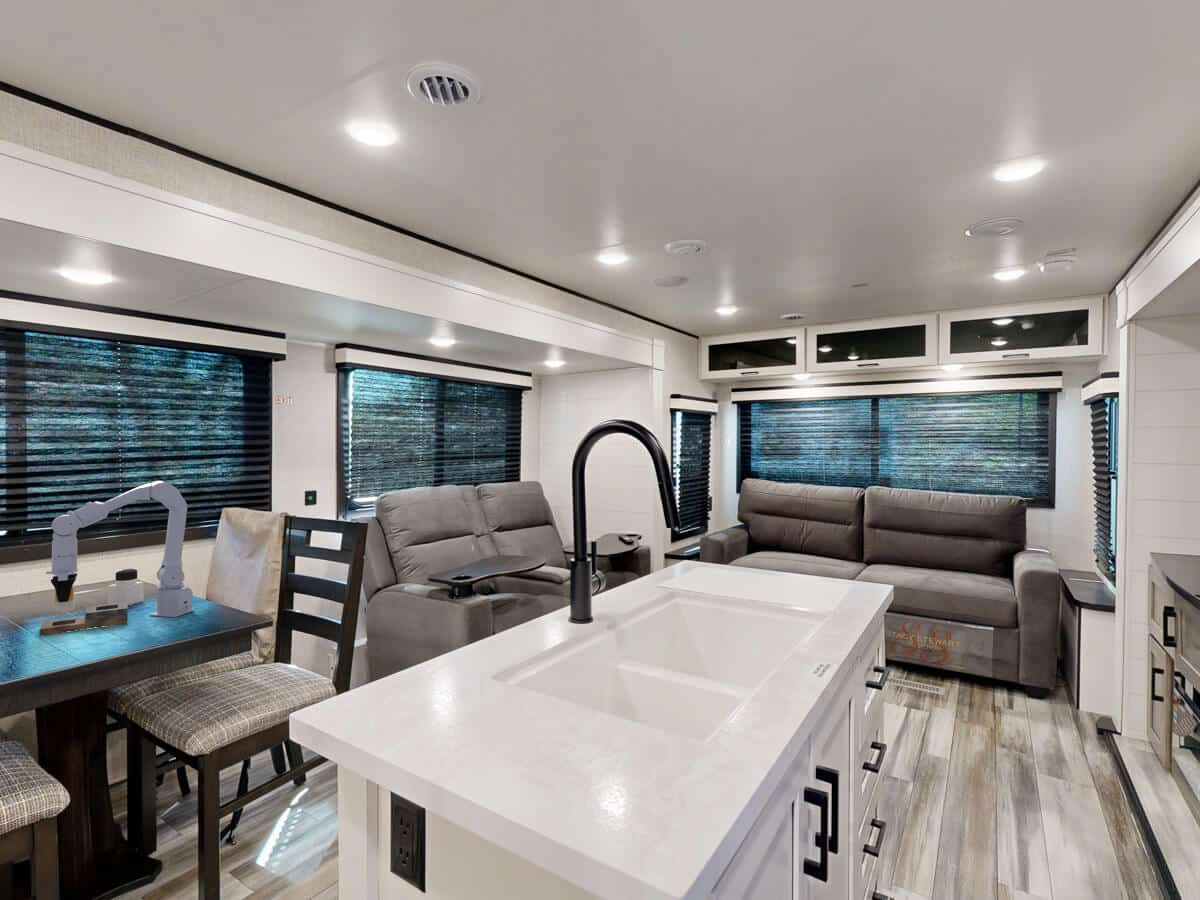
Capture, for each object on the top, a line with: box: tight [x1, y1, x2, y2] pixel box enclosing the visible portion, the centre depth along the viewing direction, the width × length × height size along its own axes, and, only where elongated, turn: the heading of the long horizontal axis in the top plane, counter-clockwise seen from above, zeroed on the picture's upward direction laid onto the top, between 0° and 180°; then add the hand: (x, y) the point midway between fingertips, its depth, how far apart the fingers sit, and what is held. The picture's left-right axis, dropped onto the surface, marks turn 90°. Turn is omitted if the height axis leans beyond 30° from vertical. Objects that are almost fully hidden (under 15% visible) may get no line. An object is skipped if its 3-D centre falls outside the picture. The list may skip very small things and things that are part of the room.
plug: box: [54, 585, 75, 613], centre depth 180 cm, size 4×4×6 cm
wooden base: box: [39, 602, 129, 637], centre depth 183 cm, size 20×9×5 cm, turn 129°
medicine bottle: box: [107, 568, 145, 606], centre depth 209 cm, size 7×7×12 cm
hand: (64, 600), depth 180 cm, fingers closed on plug, 4 cm apart
